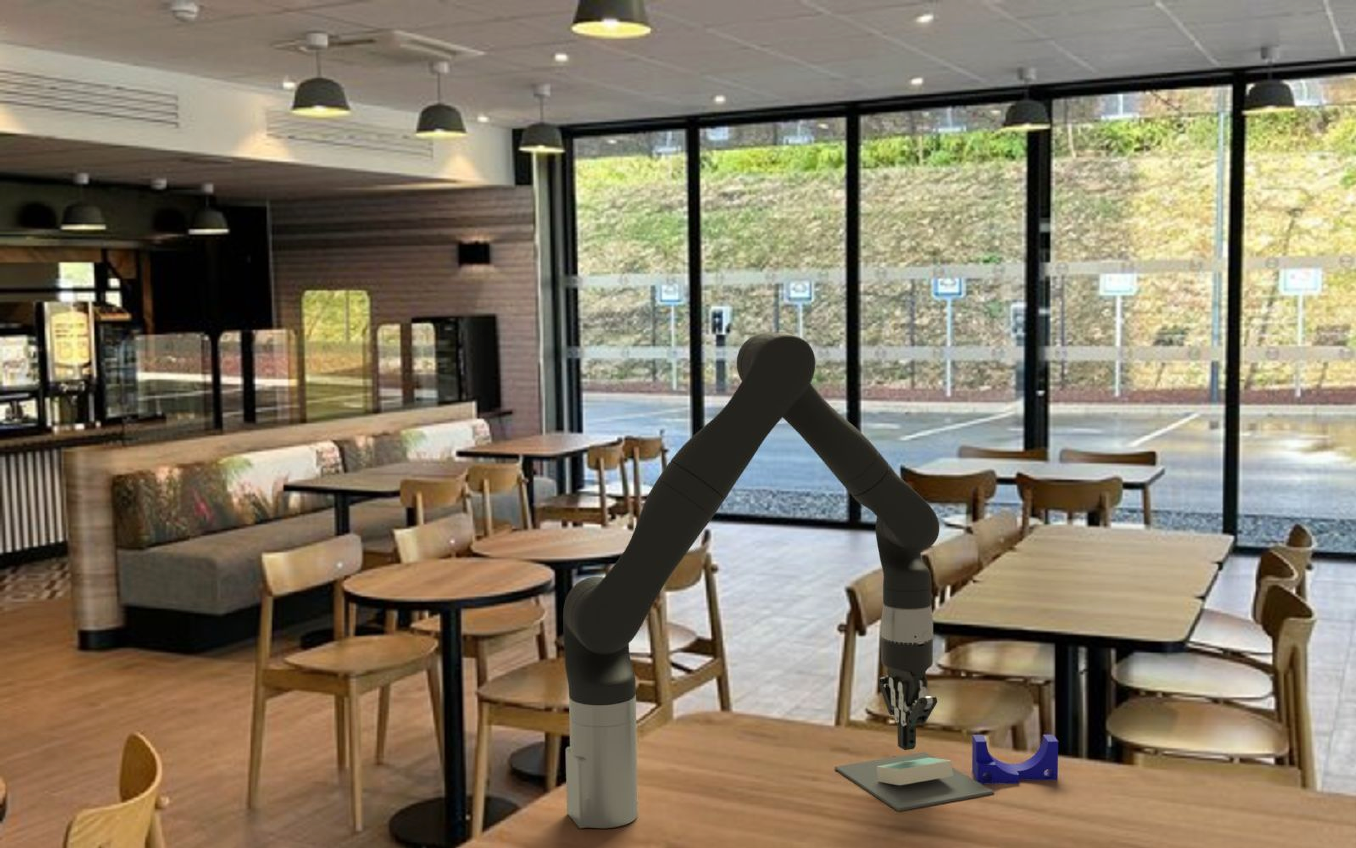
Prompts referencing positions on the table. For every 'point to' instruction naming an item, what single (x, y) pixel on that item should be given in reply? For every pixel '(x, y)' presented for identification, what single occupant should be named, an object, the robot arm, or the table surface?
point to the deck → (914, 771)
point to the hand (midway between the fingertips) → (906, 748)
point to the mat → (913, 784)
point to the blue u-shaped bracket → (999, 772)
